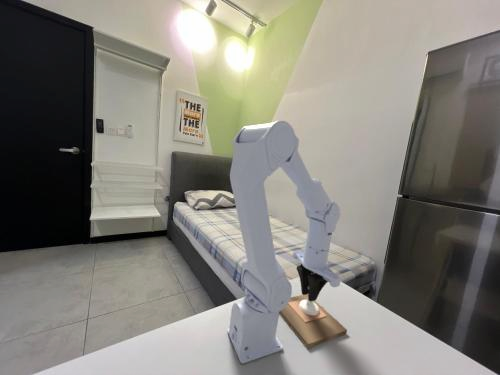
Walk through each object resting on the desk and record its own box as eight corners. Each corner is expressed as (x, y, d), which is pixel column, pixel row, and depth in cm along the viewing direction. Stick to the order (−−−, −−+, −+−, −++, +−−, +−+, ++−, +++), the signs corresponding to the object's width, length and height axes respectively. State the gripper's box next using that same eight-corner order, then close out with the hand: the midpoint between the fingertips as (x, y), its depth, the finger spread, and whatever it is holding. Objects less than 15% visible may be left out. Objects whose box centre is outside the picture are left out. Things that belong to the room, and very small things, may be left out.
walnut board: (307, 348, 42) (308, 343, 42) (272, 304, 54) (273, 300, 54) (346, 333, 47) (347, 329, 47) (306, 297, 59) (307, 293, 59)
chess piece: (313, 318, 49) (320, 280, 48) (295, 307, 52) (301, 271, 51) (321, 309, 53) (327, 273, 52) (304, 299, 56) (309, 265, 55)
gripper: (353, 258, 46) (343, 313, 47) (309, 235, 59) (302, 279, 60) (331, 261, 43) (321, 320, 44) (289, 236, 55) (282, 282, 57)
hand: (308, 296), depth 52 cm, fingers closed on chess piece
